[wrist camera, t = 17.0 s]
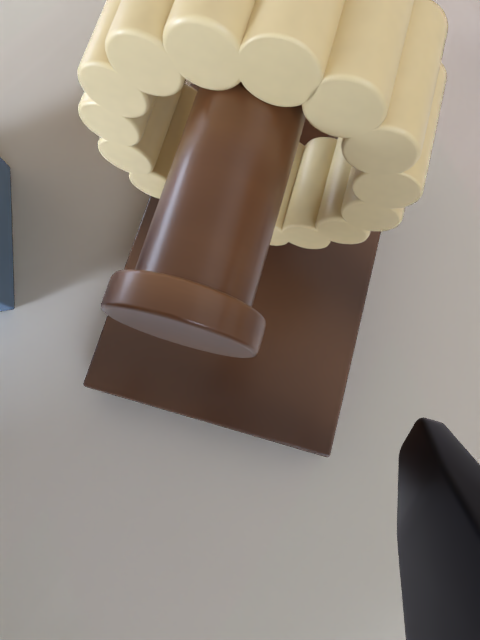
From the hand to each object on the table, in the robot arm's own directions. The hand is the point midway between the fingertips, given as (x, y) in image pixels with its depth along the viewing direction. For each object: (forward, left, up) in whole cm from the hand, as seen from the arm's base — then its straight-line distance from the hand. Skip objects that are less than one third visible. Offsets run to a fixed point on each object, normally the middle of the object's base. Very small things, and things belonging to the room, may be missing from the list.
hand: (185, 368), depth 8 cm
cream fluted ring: (+5, +2, -3) cm, 6 cm away
